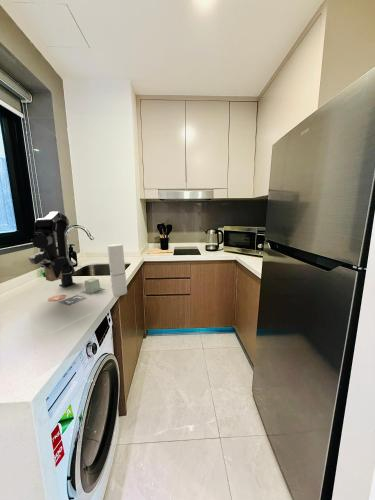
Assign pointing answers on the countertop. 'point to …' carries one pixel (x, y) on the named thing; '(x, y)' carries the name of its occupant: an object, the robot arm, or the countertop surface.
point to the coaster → (57, 297)
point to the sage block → (92, 285)
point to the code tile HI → (92, 293)
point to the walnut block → (51, 274)
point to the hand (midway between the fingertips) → (54, 277)
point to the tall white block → (117, 269)
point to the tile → (72, 300)
